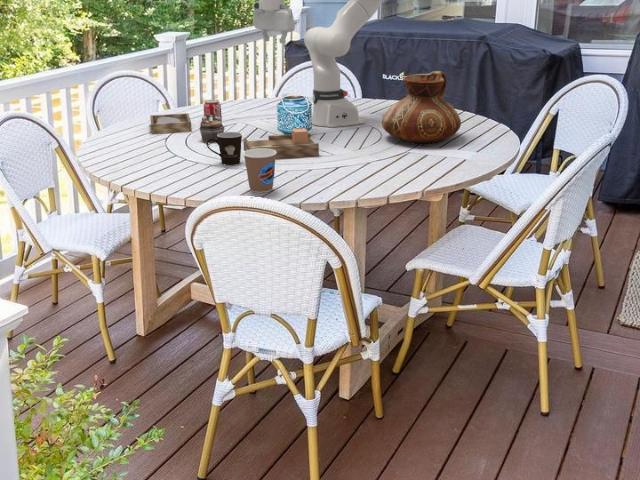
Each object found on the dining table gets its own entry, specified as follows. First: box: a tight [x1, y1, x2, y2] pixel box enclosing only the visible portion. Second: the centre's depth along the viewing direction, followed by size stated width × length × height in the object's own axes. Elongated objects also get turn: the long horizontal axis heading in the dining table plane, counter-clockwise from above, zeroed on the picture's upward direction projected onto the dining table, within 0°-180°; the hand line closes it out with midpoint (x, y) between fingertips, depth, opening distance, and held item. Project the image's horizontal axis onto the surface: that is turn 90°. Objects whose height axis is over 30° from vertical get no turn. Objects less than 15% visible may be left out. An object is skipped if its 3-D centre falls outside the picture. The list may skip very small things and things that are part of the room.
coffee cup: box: [242, 148, 277, 194], centre depth 247 cm, size 10×10×12 cm
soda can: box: [203, 99, 223, 123], centre depth 325 cm, size 7×7×12 cm
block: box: [291, 127, 309, 143], centre depth 294 cm, size 5×5×4 cm
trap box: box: [242, 132, 320, 160], centre depth 290 cm, size 25×17×4 cm
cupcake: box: [199, 114, 225, 144], centre depth 308 cm, size 10×10×10 cm
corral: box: [149, 112, 192, 135], centre depth 330 cm, size 16×18×4 cm
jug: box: [381, 70, 462, 146], centre depth 302 cm, size 30×30×25 cm
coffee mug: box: [206, 131, 243, 166], centre depth 278 cm, size 12×9×10 cm
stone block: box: [156, 117, 181, 124], centre depth 330 cm, size 12×5×10 cm
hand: (274, 42), depth 305 cm, fingers open, 8 cm apart
